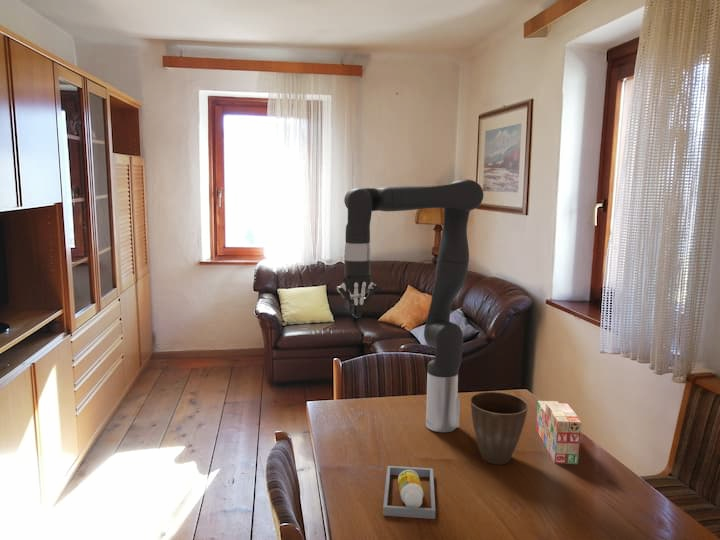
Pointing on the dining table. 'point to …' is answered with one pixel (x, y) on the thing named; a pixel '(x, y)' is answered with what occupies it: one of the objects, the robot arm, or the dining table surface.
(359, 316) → the robot arm
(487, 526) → the dining table surface
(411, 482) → the supplement bottle
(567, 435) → the stack of blocks
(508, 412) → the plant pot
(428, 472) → the frame
